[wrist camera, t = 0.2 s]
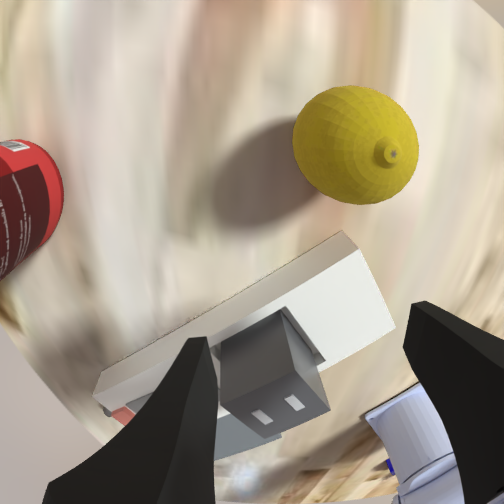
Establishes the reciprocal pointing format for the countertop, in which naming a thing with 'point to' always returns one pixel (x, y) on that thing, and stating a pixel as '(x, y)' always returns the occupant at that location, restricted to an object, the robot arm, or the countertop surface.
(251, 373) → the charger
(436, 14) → the countertop surface
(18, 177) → the canned food
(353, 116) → the lemon
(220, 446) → the mat
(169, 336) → the strip
